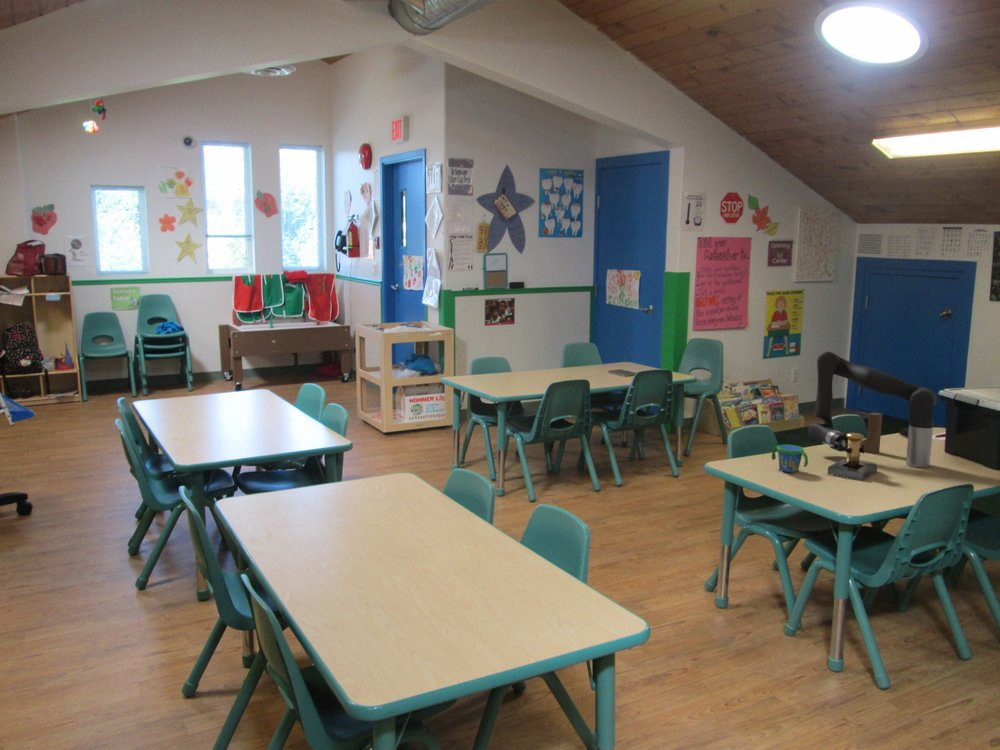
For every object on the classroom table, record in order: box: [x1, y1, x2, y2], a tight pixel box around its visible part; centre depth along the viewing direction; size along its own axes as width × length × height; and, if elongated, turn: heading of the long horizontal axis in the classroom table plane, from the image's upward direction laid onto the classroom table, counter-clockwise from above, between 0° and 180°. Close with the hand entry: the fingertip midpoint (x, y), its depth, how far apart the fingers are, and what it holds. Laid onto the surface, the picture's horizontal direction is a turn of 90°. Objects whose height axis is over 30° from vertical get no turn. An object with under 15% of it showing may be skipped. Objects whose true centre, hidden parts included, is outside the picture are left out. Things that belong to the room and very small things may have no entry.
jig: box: [827, 458, 878, 481], centre depth 352 cm, size 18×14×3 cm
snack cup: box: [771, 444, 809, 473], centre depth 354 cm, size 16×10×10 cm
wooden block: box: [861, 412, 883, 455], centre depth 386 cm, size 9×4×18 cm, turn 47°
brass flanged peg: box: [845, 432, 865, 469], centre depth 351 cm, size 7×7×14 cm
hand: (856, 450), depth 348 cm, fingers closed on brass flanged peg, 5 cm apart
